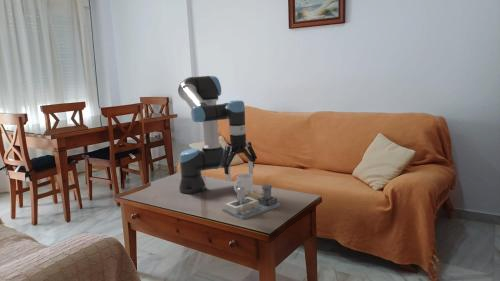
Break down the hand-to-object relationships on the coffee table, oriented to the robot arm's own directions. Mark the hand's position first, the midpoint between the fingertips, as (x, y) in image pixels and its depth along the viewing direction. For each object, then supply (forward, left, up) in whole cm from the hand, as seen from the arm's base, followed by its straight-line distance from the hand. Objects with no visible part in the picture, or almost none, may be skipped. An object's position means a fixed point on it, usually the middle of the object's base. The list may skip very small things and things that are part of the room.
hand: (240, 177), depth 183 cm
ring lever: (-2, +13, -15) cm, 20 cm away
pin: (0, 0, -15) cm, 15 cm away
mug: (-19, +15, -17) cm, 29 cm away
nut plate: (+1, +5, -17) cm, 17 cm away
